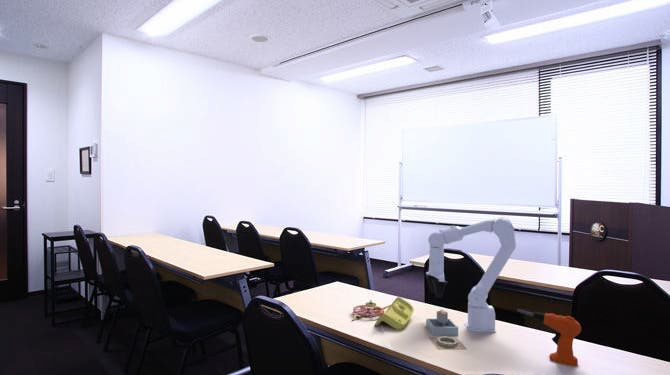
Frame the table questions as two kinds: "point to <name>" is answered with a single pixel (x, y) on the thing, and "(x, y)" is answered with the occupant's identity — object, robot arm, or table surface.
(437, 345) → the socket plate
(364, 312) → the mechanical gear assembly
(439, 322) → the cylinder with rectangular bar
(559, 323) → the toy drill
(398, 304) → the plastic component
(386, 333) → the table surface
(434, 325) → the bin
